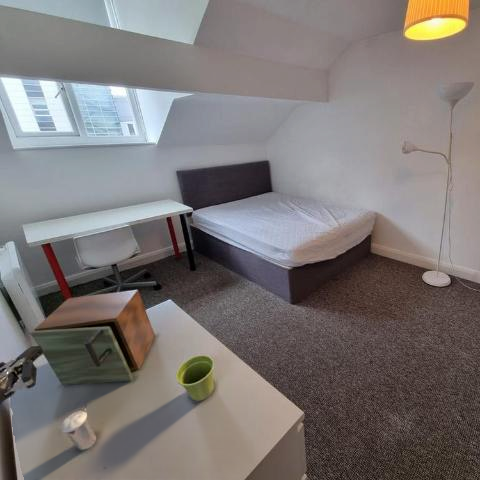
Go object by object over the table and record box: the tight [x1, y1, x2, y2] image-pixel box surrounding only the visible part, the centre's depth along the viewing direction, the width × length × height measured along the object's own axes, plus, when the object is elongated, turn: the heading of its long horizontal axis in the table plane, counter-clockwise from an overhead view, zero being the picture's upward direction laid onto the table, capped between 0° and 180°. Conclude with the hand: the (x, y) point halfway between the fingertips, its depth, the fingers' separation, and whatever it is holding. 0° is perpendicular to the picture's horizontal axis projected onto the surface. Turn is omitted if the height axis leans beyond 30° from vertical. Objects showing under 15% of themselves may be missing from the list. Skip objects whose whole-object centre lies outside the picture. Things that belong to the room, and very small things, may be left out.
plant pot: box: [175, 354, 215, 402], centre depth 73 cm, size 9×9×9 cm
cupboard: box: [33, 289, 156, 371], centre depth 83 cm, size 14×20×20 cm
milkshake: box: [60, 403, 97, 451], centre depth 62 cm, size 4×5×10 cm
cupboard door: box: [29, 327, 134, 386], centre depth 72 cm, size 6×20×20 cm, turn 92°
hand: (38, 348), depth 60 cm, fingers closed
